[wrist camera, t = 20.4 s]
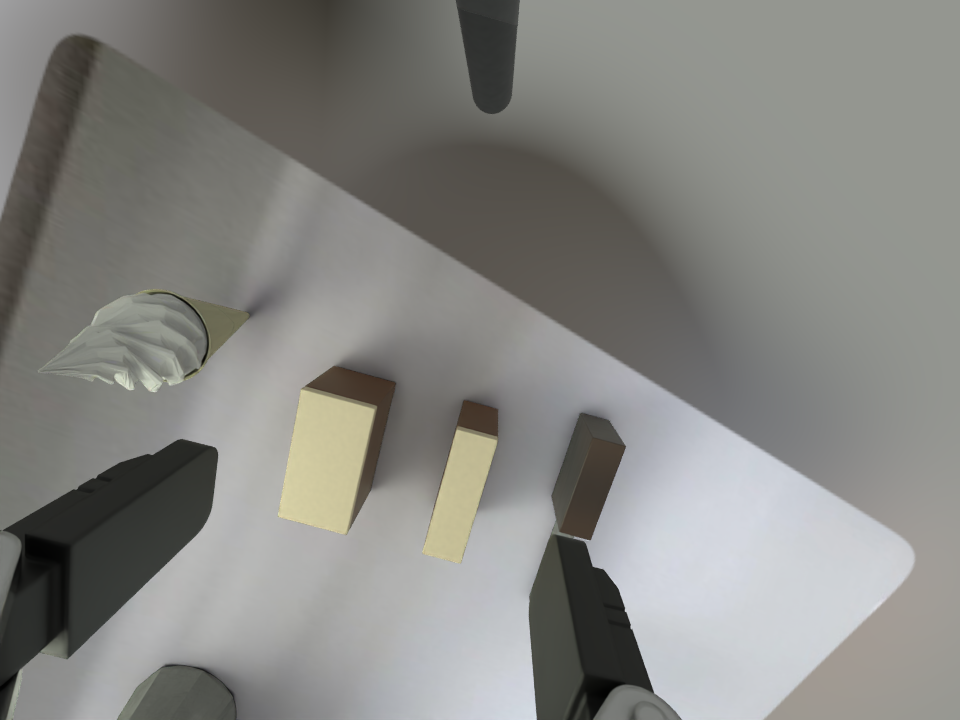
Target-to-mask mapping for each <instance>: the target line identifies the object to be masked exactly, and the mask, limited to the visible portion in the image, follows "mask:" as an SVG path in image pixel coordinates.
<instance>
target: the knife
mask: <svg viewBox="0 0 960 720" xmlns="http://www.w3.org/2000/svg"><path fill="white" fill-rule="evenodd" d="M625 448H626V446H625V444H624V443H623V441H622V440H621V438H620V437H619V435H618V433H617V432H616V430H615V429H614V427H613V426H612V424H611V423H610V421H609V420H605V419H602V418H598V417H594V416H591V415H587V414H583V413H580V415H579V418H578V421H577V424H576V427H575V430H574V433H573V436H572V438H571V441H570V444H569V447H568V450H567V453H566V456H565V459H564V462H563V465H562V467H561V470H560V473H559V476H558V479H557V482H556V485H555V488H554V491H553V493H552V501H553V506H554V510H555V515H556V522H555V525H554V528H553V531H552V533H551V535H552V534H557V535H561V536H565V537H569V538H574V536H575V537H579V538H583V539H587V540H591V538H592V535H593V532H594V530H595V527H596V525H597V522H598V519H599V517H600V514H601V511H602V509H603V506H604V503H605V501H606V498H607V495H608V493H609V490H610V488H611V485H612V482H613V480H614V477H615V474H616V472H617V469H618V466H619V464H620V461H621V459H622V456H623V453H624V451H625ZM550 537H551V536H550ZM532 588H533V587H532ZM531 591H532V590H531ZM530 596H531V593H530ZM530 596H529V599H530Z"/></svg>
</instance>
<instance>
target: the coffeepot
mask: <svg viewBox="0 0 960 720" xmlns="http://www.w3.org/2000/svg"><path fill="white" fill-rule="evenodd" d="M235 716H236V707H235V702H234V700H233V697H232V695H231V693H230V692H229V690H228V689H227V688H226V687H225V686H224V684H223V683H222V682H221V681H219V680H218V679H217V678H215V677H214V676H213V675H211V674H209V673H207V672H205V671H203V670H200V669H197V668H194V667H188V666H171V667H162V668H161V669H159V670H158V671H156V672H155V673H153V674H152V675H151V676H150V677H149V678H148V679H147V680H145V681H144V682H143V683H142V684H140V685H139V686H138V687H137V688H136V690H135V691H134V693H133V694H132V696H131V698H130V699H129V701H128V702H127V704H126V706H125V707H124V709H123V711H122V712H121V714H120V715H119V717H118V719H117V720H235Z"/></svg>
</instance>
